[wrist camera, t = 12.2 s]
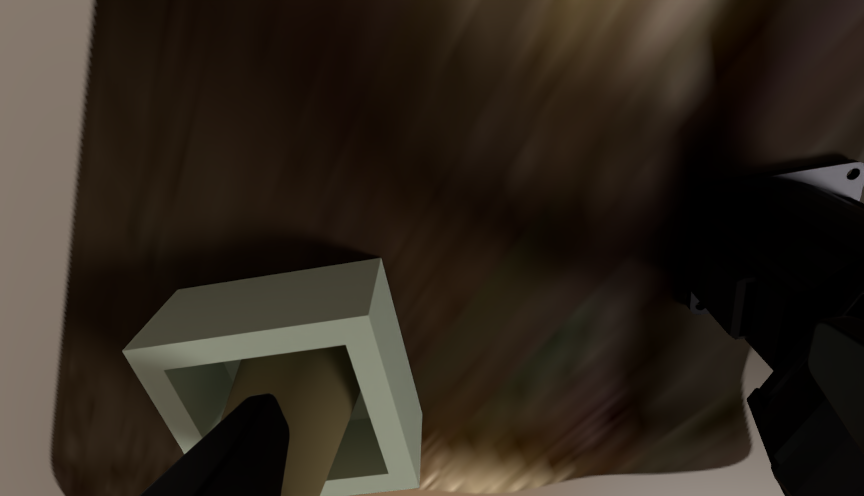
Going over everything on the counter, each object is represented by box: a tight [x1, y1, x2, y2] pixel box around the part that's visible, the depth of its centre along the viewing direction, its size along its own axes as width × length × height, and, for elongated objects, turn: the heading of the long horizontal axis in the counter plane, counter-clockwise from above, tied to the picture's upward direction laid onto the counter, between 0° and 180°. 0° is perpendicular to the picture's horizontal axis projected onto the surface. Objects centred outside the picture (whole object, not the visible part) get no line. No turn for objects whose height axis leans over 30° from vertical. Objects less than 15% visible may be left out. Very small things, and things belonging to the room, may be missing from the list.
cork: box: [220, 345, 361, 496], centre depth 19 cm, size 6×6×11 cm
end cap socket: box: [122, 258, 422, 496], centre depth 23 cm, size 10×10×4 cm
